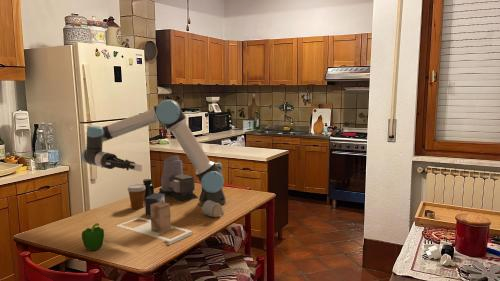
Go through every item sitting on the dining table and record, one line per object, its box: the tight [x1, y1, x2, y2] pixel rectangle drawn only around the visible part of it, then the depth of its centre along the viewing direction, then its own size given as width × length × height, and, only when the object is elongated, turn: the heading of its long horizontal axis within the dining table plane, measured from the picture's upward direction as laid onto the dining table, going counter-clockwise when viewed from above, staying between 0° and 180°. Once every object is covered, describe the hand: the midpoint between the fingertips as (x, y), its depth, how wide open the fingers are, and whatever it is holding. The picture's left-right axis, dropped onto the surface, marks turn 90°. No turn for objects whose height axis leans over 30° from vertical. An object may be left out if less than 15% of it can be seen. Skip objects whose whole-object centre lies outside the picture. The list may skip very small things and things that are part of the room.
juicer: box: [157, 155, 199, 202], centre depth 232 cm, size 30×16×24 cm, turn 41°
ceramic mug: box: [201, 200, 225, 218], centre depth 194 cm, size 11×8×8 cm
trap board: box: [116, 216, 193, 246], centre depth 173 cm, size 35×14×2 cm, turn 56°
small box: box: [144, 192, 166, 217], centre depth 194 cm, size 11×6×10 cm, turn 168°
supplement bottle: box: [142, 178, 155, 202], centre depth 223 cm, size 7×7×12 cm
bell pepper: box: [81, 222, 105, 251], centre depth 154 cm, size 8×8×10 cm
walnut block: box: [150, 201, 172, 235], centre depth 169 cm, size 6×6×12 cm
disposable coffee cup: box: [127, 183, 146, 210], centre depth 208 cm, size 10×10×12 cm
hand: (140, 168), depth 176 cm, fingers closed
